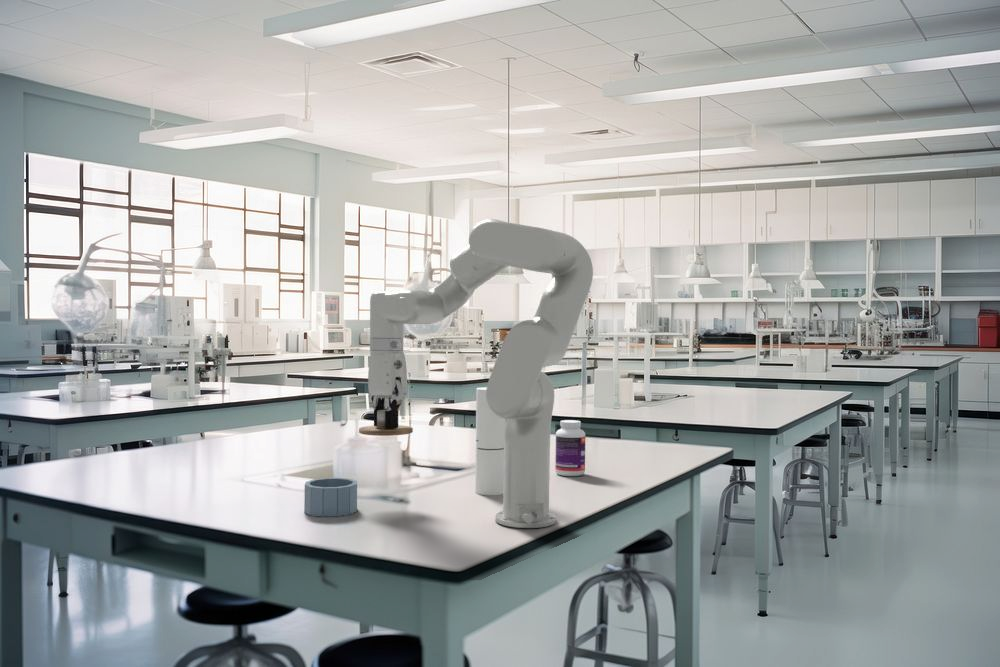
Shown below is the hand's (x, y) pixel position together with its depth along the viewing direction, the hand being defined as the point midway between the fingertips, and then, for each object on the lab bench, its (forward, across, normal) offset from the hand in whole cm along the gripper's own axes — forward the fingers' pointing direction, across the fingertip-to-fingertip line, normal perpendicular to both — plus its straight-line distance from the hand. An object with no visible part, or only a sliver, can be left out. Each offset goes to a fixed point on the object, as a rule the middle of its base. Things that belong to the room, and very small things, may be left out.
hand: (386, 426), depth 185 cm
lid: (+1, 0, 0) cm, 1 cm away
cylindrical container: (+17, -5, -26) cm, 32 cm away
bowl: (+17, 0, +14) cm, 22 cm away
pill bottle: (+17, 0, -58) cm, 60 cm away
